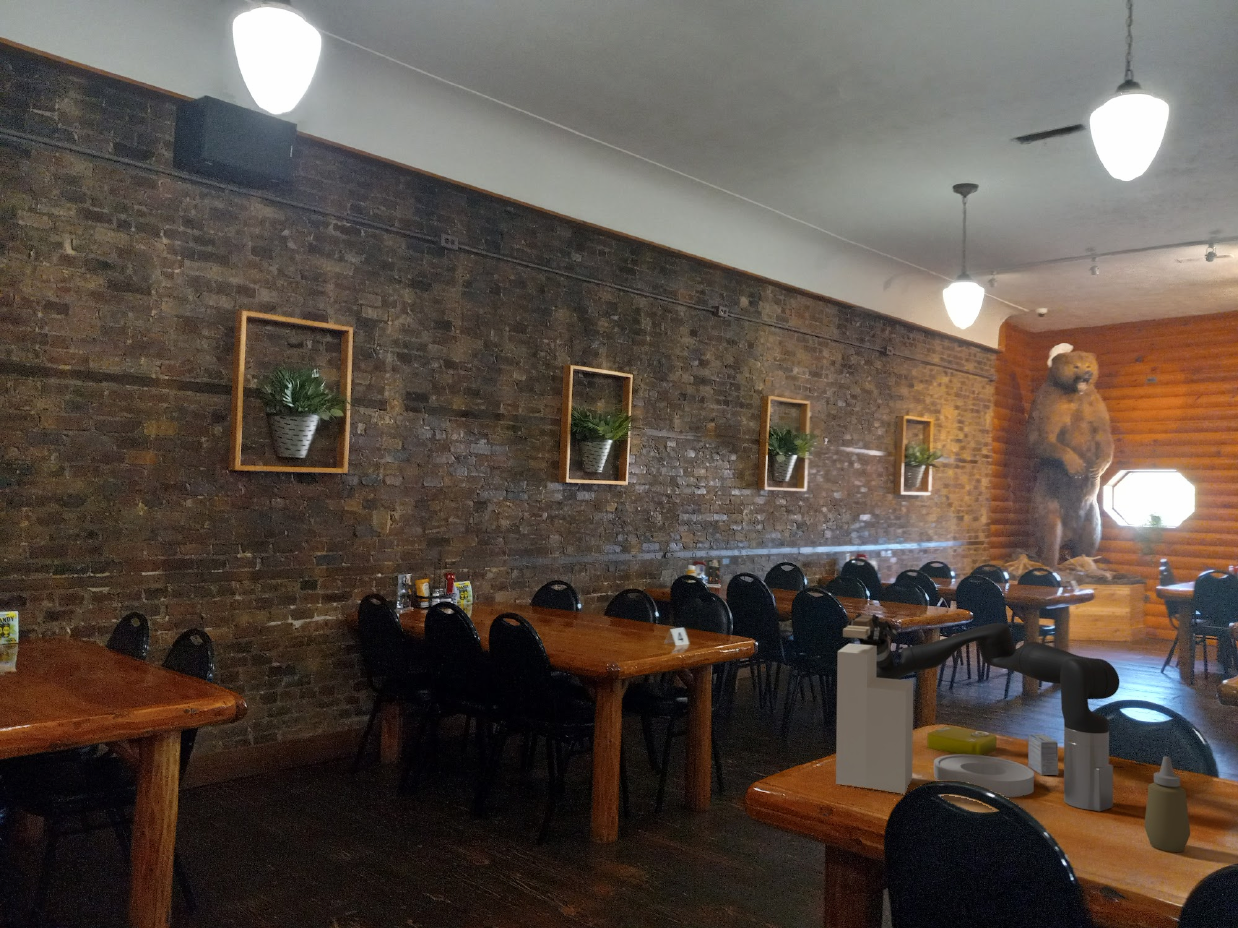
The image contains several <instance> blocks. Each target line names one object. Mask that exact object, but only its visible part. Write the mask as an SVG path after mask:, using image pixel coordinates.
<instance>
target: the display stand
mask: <svg viewBox="0 0 1238 928" xmlns="http://www.w3.org/2000/svg"><path fill="white" fill-rule="evenodd" d="M836 660H837V661H836V662H837V663H836V664H837V665H836V667H837V669H836V670H837V671H836V673H837V674H836V675H837V676H836V677H837V679H836V681H837V682H836V688H837V689H836V743H835V744H836V748H835V749H836V754H835V755H836V758H835V759H836V761H835V785H836V784H842V785H852V786H857V787H865V788H873V789H878V790H885V791H889V792H897V793H901V794H900V795H902V793H903V796H905V795H906V794H905V793H907V791H908V789H909V787H908V785H909V784H910V785H911V782H912V780H913V761H914V760H913V759H914V758H913V756H914V755H913V753H914V751H913V750H914V749H913V746H914V745H913V743H914V740H913V739H914V680H909V679H908V680H906V679H887V678H877V677H876V661H877V646H873V645H861V644H860V643H848V644H846V645H844V646H843V647H841V648H840V649H838V650H837V659H836ZM911 779H912V780H911ZM910 781H911V782H910ZM910 785H909V786H910ZM907 788H908V789H907Z"/></svg>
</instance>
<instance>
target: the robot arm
mask: <svg viewBox="0 0 1238 928" xmlns="http://www.w3.org/2000/svg"><path fill="white" fill-rule="evenodd" d="M862 615H863V614H862V613H861V612H859V613H857V614H855V618H850V619H849V621H848V622H847V624H846V625H845V628H846V627H847V626H853V621H854V620H855V619H857V618H858V617H860V616H862ZM872 615H873V616H872V617H873V618H872V622H873V625H874V627H875V628H873V629H872V630H871V631H870V635H869V636H867V637H866V638H857V639H858V642H859V644H861V645H873V646H877V661H876V677H877V678H887V679H898V680H900V679H901V678H903V677H905V676H907V675H910V674H912V673H915V672H921V671H926V670H931V669H935V668H938V667H940V666H942V665H943V664H944V663H946V662H947V661H948V660H949V658H951V657H952V656H953V655H954V654H955V653H956V652H957V651H958V650H960V649H961V648H963V647H964V646H966V645H969V644H971V643H974V642H976V643H977V646H978V649H979V653H980V657H981V658H982V660H983V662H984V663H985V664H986V665H988V666H991V667H995V668H999V669H1002V670H1009V671H1012V672H1016V673H1019V674H1022V675H1025V676H1026V677H1029V678H1031V679H1034V680H1037V681H1039V682H1042V683H1050V684H1051V683H1052V684H1058V685H1060V697H1061V698H1060V699H1061V700H1060V701H1061V712H1062V716H1063V722H1064V723H1063V726H1064V727H1063V729H1064V730H1063V731H1064V733H1063V757H1064V758H1063V763H1064V764H1063V786H1064V787H1063V794H1064V795H1063V800H1064V801H1063V802H1064V803H1066V805H1069V806H1071V807H1074V808H1078V809H1084V810H1089V811H1090V810H1091V811H1096V812H1102V811H1106V810H1109V809H1110V808H1111V809H1112V808H1113V807H1114V765H1112V764H1110V753H1109V752H1110V746H1109V745H1110V722H1109V719H1108V718H1107V717H1105V715H1102V714H1099V713H1097V712H1094V711H1092V710H1091V709H1090V706H1089V700H1103V699H1104V700H1106V699H1108V698H1111V697H1112V696H1114V695H1115V694H1116V693H1117V692H1118V690H1119V688H1120V676H1119V674H1118V672H1117V670H1116V668H1114V666H1113V665H1112V664H1111V663H1110V662H1109V661H1107V660H1104V658H1103V659H1102V658H1094V657H1087V656H1080V655H1076V654H1074V653H1073V652H1070V651H1067V650H1063V649H1060V648H1058V647H1055V646H1052V645H1049V644H1045V643H1043V642H1040V641H1029V642H1025V643H1023V644H1021V645H1020V646H1019V647H1018V648H1017V649H1016V645H1015V641H1014V638H1013V634H1012V631H1011V628H1010V626H1009V625H1008V624H1005V623H1002V622H993V623H988V624H984V625H980V626H977V627H974V628H971V629H969V630H965V631H962V632H959V633H956V634H953V635H950V636H948V637H944V638H942V639H938V640H936V641H931V642H928V643H927V642H926V643H923V644H917V645H913V646H908V647H904V648H902V649H901V651H900V653H901V654H900V662H898V664H897V665H896V664H895V660H894V656H893V655H894V654H893V653H892V649H891V647H890V646H891V644H890V639H889V637H890V638H891V639H896V638H897V632H898V630H897V628H896V627H895V626H894V625H892V624H891V623H890V622H889V621H887V620H883V621H881V620H880V616H878V615H876V613H875V614H874V613H873V614H872Z"/></svg>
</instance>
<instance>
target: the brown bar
mask: <svg viewBox="0 0 1238 928" xmlns="http://www.w3.org/2000/svg"><path fill="white" fill-rule="evenodd" d="M861 615H862V616H860V617H858V618H857V619H855V618H854V619H855V620H854V621H853V626H847V627H846V626H845V627H844V628H842V637H843V638H853V639H854V638H855V639H858V638H866V637H867V636H869V635H870V631H871V630H872V629H873V628H875V627H874V625H873V622H872V618H873V617H872V616H873V614H861Z"/></svg>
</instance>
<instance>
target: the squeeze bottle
mask: <svg viewBox="0 0 1238 928" xmlns="http://www.w3.org/2000/svg"><path fill="white" fill-rule="evenodd" d="M1161 761H1162V762H1161V766H1160V769H1159V771H1157V772H1154V773H1153V782H1152V783H1150V784H1148V790H1147V791H1148V792H1147V798H1146V799H1147V800H1146V807H1145V816H1144V826H1143V827H1144V829H1145V830H1144V831H1145V832H1146V836H1147V838H1148V841H1149V844H1150V845H1151V847H1154V848H1155V849H1157V850H1161V851H1165V852H1170V853H1173V852H1174V853H1181V852H1184V851H1185V849H1186V846H1187V844H1188V842H1189V838H1190V837H1191V828H1190V827H1191V826H1190V820H1189V817H1190V816H1189V812H1188V811H1189V809H1188V801H1187V792H1186V790H1185V789H1184V788H1183V787H1181V777H1180V776H1179V775H1177V774H1175V773H1174V772H1175V771H1174V767H1173V765H1172V760H1171V757H1170V756H1165V755H1164V756H1163V757H1162V760H1161Z"/></svg>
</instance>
